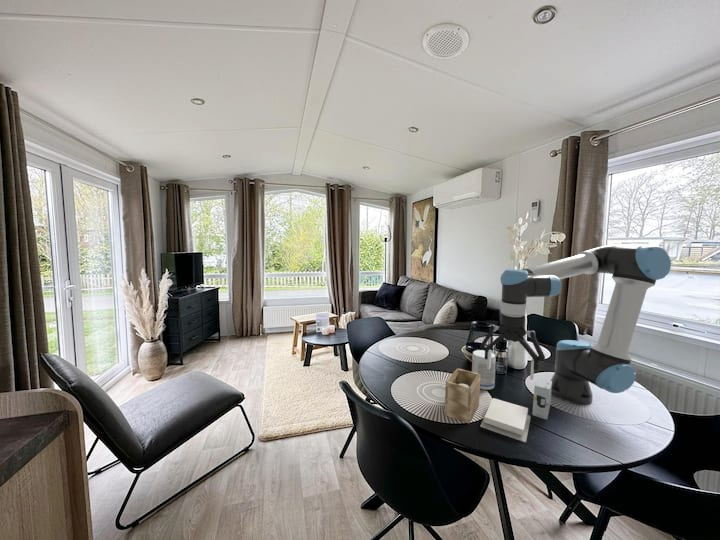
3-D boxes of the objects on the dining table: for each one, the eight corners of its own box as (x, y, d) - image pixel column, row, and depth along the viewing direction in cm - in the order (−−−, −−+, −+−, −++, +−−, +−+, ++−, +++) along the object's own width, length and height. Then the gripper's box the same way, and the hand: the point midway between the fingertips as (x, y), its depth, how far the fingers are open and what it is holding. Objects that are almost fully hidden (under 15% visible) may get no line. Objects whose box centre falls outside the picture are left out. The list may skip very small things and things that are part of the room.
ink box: (535, 405, 116) (537, 376, 114) (550, 409, 112) (552, 380, 111) (531, 415, 109) (534, 385, 108) (547, 420, 106) (549, 389, 105)
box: (478, 405, 115) (480, 374, 114) (469, 423, 104) (471, 389, 102) (455, 398, 120) (457, 368, 119) (444, 415, 109) (445, 381, 107)
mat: (530, 416, 108) (530, 415, 108) (525, 442, 94) (526, 441, 94) (490, 404, 116) (490, 403, 116) (480, 426, 102) (480, 425, 102)
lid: (527, 416, 108) (528, 408, 107) (522, 439, 95) (523, 429, 95) (492, 405, 114) (492, 397, 114) (484, 425, 102) (484, 417, 102)
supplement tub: (498, 386, 130) (500, 355, 128) (486, 392, 124) (487, 359, 123) (479, 378, 138) (480, 348, 136) (466, 383, 133) (468, 352, 131)
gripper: (556, 317, 97) (552, 378, 99) (477, 307, 111) (475, 360, 113) (556, 322, 91) (551, 387, 93) (472, 311, 105) (470, 367, 107)
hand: (509, 373), depth 103 cm, fingers open, 13 cm apart
